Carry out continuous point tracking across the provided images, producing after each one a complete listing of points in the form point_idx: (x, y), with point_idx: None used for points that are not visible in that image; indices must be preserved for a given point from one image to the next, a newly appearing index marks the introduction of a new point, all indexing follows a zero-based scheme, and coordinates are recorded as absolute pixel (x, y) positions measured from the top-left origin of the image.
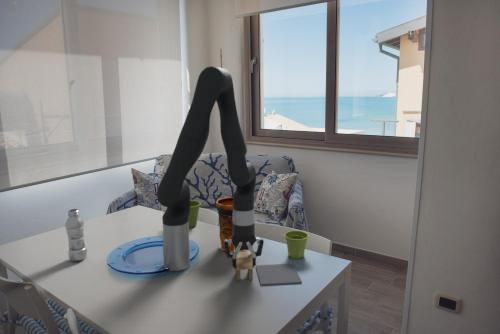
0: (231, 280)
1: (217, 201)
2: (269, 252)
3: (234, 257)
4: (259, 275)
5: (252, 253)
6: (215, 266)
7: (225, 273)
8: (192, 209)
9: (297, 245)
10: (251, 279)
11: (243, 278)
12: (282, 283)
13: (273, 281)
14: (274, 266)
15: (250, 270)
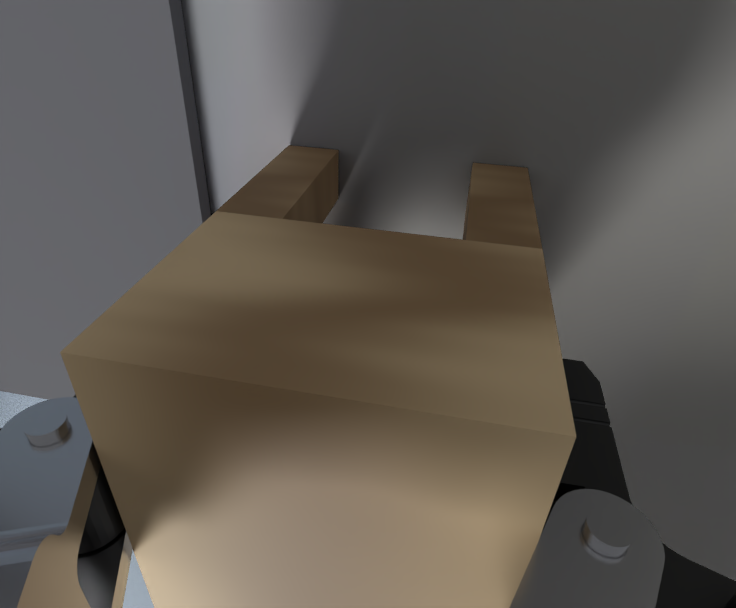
0: (607, 193)
1: None
2: (130, 572)
3: (601, 528)
4: (189, 214)
5: (29, 512)
6: (679, 541)
7: (622, 387)
8: None
9: None
10: (304, 147)
11: (414, 212)
12: None
13: None
14: (41, 365)
15: (268, 206)
